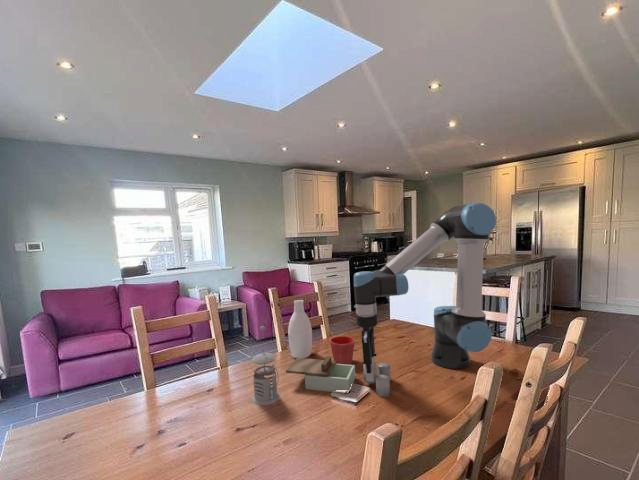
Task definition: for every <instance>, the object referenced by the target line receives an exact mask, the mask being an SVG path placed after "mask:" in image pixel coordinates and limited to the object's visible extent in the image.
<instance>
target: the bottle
mask: <svg viewBox="0 0 639 480" xmlns="http://www.w3.org/2000/svg"><path fill="white" fill-rule="evenodd" d="M312 328H313V327H312V324H311V321H310V318H309V316H308V314H306V312H305V308H304V300H303V299H297V300H296V299H295V300H293V313H292V315H291V317H290V319H289V323H288V328H287V329H288V331H287V333H288V334H287V335H288V345H289V350H290V355H291V357H292V358H295V359H297V358H306V359H308V357H310V356H311V354H312V348H313V347H312V344H313V329H312Z"/></svg>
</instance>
